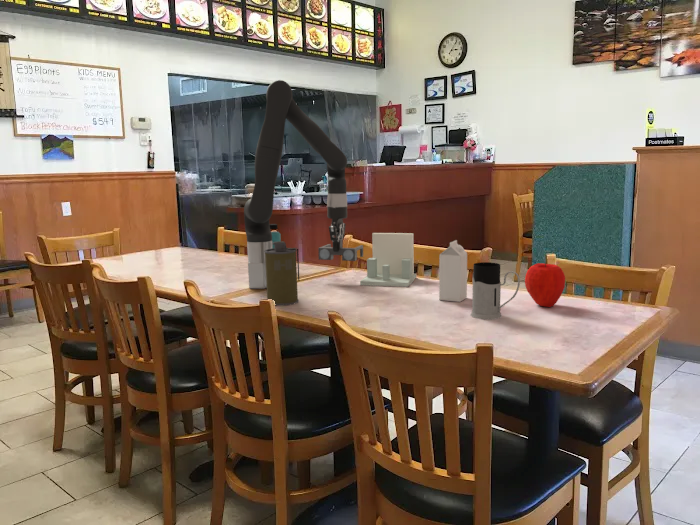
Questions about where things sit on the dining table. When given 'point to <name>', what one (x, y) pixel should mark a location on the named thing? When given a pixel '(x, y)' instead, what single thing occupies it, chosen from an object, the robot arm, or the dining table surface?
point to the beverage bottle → (275, 234)
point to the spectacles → (340, 252)
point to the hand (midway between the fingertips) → (337, 250)
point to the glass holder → (488, 290)
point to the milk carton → (453, 273)
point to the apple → (545, 283)
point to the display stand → (391, 260)
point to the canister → (282, 274)
